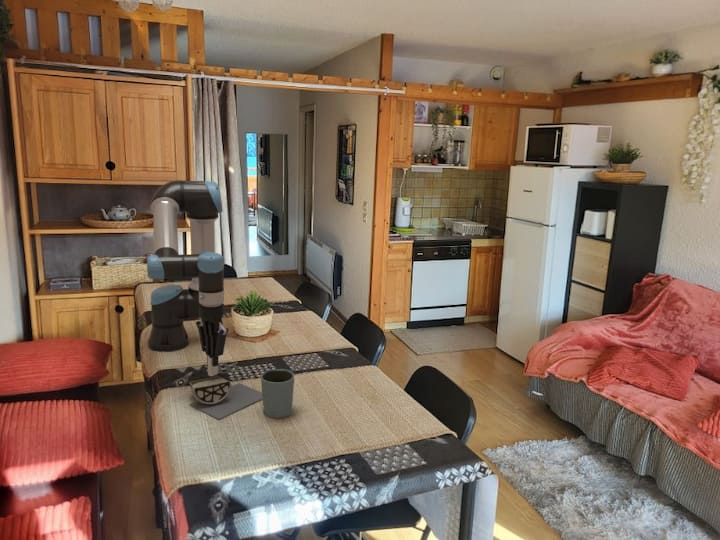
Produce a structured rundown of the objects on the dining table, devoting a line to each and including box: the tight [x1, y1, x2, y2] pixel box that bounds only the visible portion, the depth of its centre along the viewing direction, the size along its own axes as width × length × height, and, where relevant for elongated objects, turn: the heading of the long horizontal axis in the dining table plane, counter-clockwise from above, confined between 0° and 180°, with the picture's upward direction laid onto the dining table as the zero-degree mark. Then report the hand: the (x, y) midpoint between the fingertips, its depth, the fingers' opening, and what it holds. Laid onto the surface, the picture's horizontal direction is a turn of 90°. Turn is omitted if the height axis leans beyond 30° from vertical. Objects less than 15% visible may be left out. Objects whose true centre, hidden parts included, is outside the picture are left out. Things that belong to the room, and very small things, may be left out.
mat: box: [188, 382, 263, 421], centre depth 169 cm, size 14×20×1 cm
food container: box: [188, 376, 232, 404], centre depth 168 cm, size 12×6×10 cm
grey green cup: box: [260, 368, 295, 420], centre depth 163 cm, size 10×10×12 cm
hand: (212, 374), depth 171 cm, fingers closed
